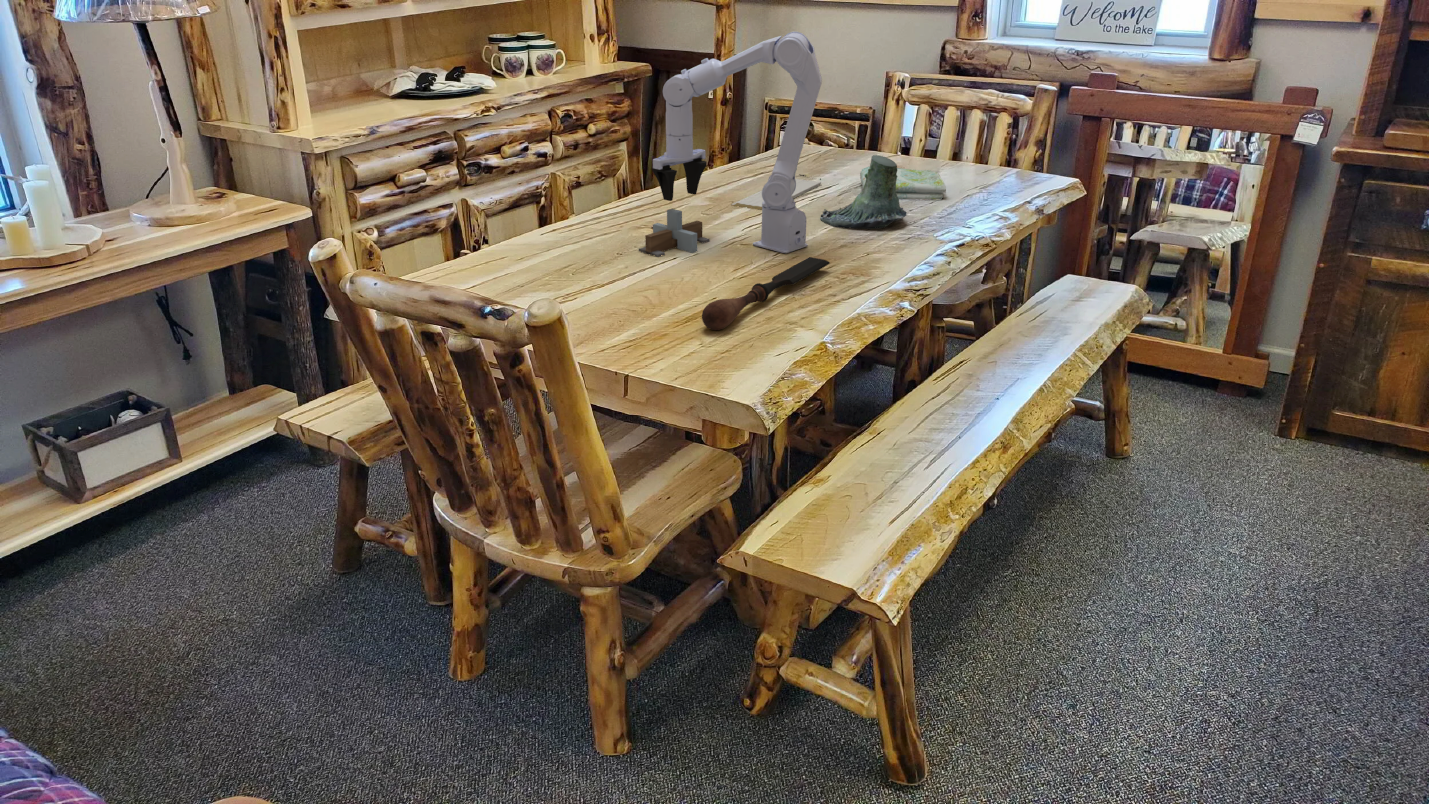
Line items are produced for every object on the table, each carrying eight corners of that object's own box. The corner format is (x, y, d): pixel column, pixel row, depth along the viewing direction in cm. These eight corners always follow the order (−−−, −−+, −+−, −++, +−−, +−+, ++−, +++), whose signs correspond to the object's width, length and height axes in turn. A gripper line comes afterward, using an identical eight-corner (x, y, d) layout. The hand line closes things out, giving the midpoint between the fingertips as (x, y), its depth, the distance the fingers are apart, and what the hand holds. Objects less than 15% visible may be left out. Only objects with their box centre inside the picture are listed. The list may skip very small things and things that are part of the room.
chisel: (695, 331, 178) (695, 304, 176) (809, 267, 211) (810, 244, 208) (719, 337, 176) (720, 309, 173) (830, 271, 208) (832, 248, 206)
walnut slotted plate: (709, 241, 227) (709, 223, 225) (658, 257, 216) (657, 238, 215) (690, 236, 231) (690, 218, 229) (638, 251, 220) (638, 233, 218)
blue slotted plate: (697, 251, 220) (697, 214, 217) (692, 252, 219) (691, 216, 216) (658, 240, 228) (657, 205, 224) (653, 241, 227) (652, 206, 223)
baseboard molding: (726, 207, 256) (768, 213, 251) (726, 195, 255) (769, 202, 250) (780, 182, 281) (820, 187, 275) (781, 171, 279) (821, 176, 274)
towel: (947, 202, 261) (949, 182, 259) (863, 200, 262) (864, 180, 260) (937, 185, 277) (939, 166, 275) (858, 184, 278) (859, 165, 276)
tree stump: (839, 207, 256) (861, 138, 247) (910, 239, 248) (935, 169, 239) (805, 220, 241) (828, 147, 232) (879, 254, 234) (905, 180, 225)
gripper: (688, 126, 225) (689, 187, 231) (642, 136, 216) (643, 199, 221) (712, 130, 221) (712, 193, 227) (665, 140, 211) (667, 205, 217)
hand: (680, 196), depth 224 cm, fingers open, 7 cm apart
